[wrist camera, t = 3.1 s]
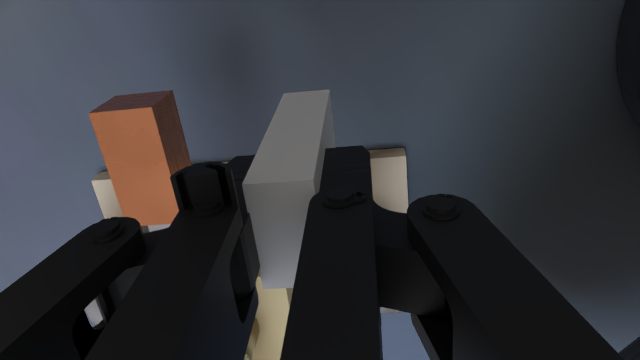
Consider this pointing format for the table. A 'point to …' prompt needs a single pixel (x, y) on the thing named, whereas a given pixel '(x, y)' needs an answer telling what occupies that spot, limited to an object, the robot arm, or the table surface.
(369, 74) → the table surface
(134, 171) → the lever
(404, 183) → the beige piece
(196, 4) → the table surface
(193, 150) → the table surface
